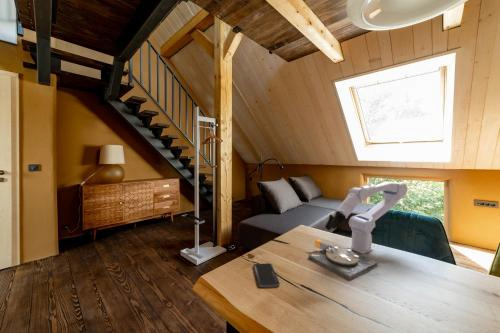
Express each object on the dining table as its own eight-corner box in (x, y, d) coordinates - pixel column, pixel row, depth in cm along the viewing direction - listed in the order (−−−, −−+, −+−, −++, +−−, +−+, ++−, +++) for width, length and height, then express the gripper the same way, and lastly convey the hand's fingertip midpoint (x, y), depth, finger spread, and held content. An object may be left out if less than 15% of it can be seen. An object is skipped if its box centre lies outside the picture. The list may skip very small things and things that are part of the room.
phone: (258, 286, 75) (253, 263, 90) (258, 289, 75) (253, 266, 90) (280, 284, 76) (271, 263, 91) (280, 287, 76) (271, 265, 91)
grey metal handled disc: (324, 243, 109) (325, 236, 109) (364, 260, 92) (365, 252, 92) (307, 249, 102) (307, 242, 102) (346, 268, 85) (347, 260, 85)
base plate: (335, 248, 108) (336, 244, 108) (377, 265, 91) (377, 262, 91) (308, 258, 97) (308, 254, 97) (349, 280, 80) (349, 276, 80)
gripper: (335, 204, 110) (318, 223, 107) (345, 198, 97) (326, 220, 94) (346, 213, 108) (329, 233, 105) (359, 209, 95) (340, 232, 92)
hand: (329, 228), depth 99 cm, fingers open, 7 cm apart
